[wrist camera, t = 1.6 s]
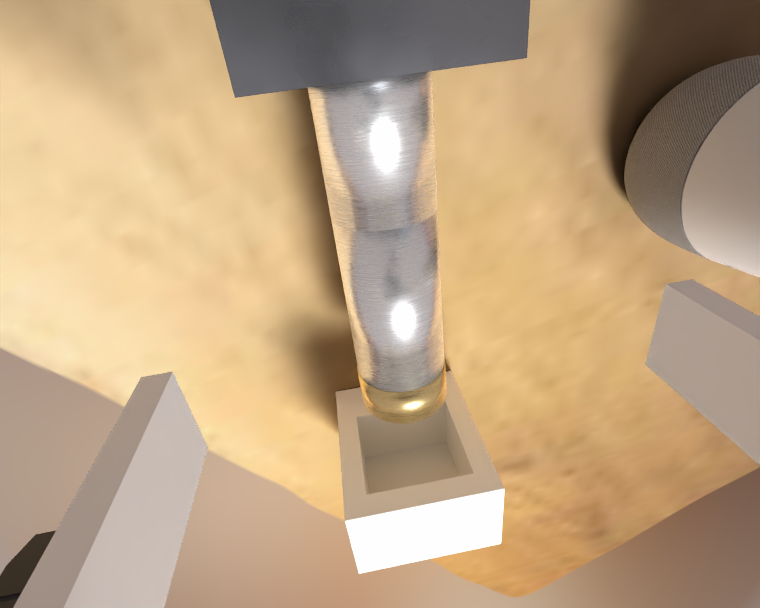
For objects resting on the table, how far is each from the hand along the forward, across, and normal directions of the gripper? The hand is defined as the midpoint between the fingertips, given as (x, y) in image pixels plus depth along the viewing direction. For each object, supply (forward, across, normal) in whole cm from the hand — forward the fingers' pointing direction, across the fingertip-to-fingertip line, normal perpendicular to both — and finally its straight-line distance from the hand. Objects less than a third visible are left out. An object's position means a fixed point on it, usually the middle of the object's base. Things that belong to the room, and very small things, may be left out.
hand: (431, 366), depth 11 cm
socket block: (+14, 0, -14) cm, 20 cm away
